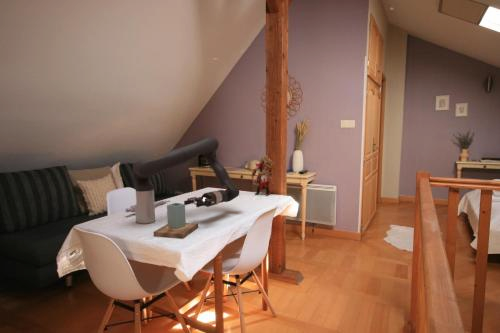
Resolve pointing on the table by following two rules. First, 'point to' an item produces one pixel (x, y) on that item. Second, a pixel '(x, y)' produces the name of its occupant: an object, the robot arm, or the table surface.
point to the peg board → (176, 231)
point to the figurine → (263, 175)
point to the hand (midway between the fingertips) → (190, 204)
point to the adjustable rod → (132, 208)
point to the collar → (176, 215)
